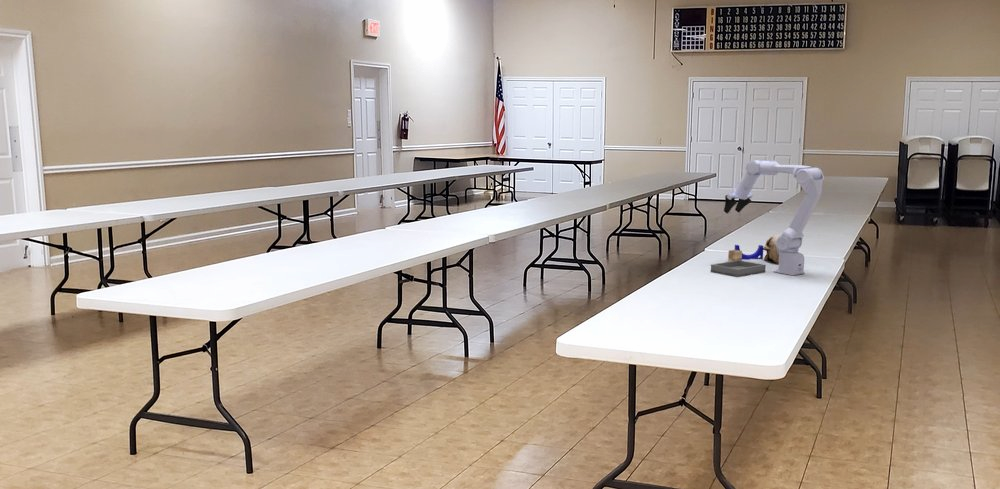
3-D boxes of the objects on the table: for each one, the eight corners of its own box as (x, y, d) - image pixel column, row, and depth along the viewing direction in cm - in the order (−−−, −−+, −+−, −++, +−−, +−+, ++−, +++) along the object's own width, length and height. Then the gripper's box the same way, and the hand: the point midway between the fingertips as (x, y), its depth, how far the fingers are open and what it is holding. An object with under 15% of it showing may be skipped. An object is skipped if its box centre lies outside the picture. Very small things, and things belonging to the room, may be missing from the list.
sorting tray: (765, 272, 345) (765, 264, 345) (737, 277, 335) (738, 269, 335) (738, 267, 356) (738, 260, 356) (710, 271, 346) (711, 264, 345)
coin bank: (771, 256, 380) (775, 228, 377) (806, 266, 368) (810, 236, 364) (751, 261, 371) (755, 232, 367) (786, 271, 358) (790, 241, 354)
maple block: (741, 264, 362) (742, 250, 361) (735, 265, 360) (736, 251, 359) (733, 263, 366) (734, 249, 365) (728, 264, 363) (728, 250, 362)
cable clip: (735, 259, 375) (736, 246, 374) (734, 257, 379) (734, 244, 378) (763, 260, 374) (764, 246, 373) (761, 258, 378) (762, 245, 377)
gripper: (750, 179, 363) (735, 205, 370) (728, 180, 354) (714, 207, 361) (761, 188, 358) (746, 214, 365) (739, 190, 350) (725, 216, 357)
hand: (731, 211), depth 363 cm, fingers open, 7 cm apart
